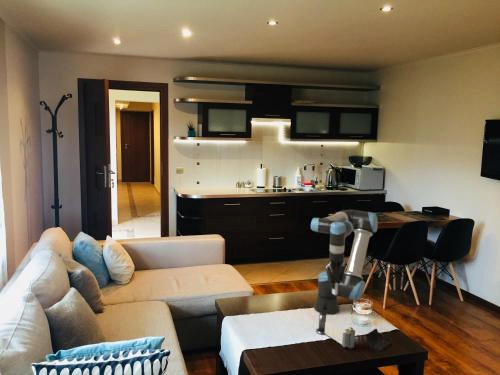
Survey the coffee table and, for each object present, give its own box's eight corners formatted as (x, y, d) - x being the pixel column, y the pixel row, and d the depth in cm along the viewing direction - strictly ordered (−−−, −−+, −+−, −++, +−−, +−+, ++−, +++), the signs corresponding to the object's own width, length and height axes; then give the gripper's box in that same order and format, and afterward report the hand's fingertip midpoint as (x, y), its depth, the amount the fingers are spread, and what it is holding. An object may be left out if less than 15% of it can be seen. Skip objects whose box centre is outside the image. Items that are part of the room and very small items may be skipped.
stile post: (344, 346, 211) (345, 328, 210) (349, 344, 213) (351, 326, 212) (348, 349, 209) (349, 330, 207) (354, 347, 211) (355, 329, 209)
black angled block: (384, 350, 206) (374, 330, 209) (372, 354, 210) (363, 335, 213) (392, 344, 215) (383, 325, 219) (380, 348, 219) (371, 330, 222)
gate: (344, 347, 208) (345, 334, 207) (324, 333, 221) (324, 321, 220) (348, 345, 210) (349, 333, 209) (328, 332, 223) (329, 320, 222)
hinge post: (313, 330, 226) (314, 313, 225) (322, 328, 229) (323, 311, 228) (321, 335, 221) (322, 318, 220) (329, 333, 224) (330, 316, 222)
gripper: (330, 255, 210) (328, 299, 215) (351, 252, 216) (348, 294, 220) (322, 251, 217) (320, 293, 222) (342, 247, 223) (340, 289, 227)
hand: (334, 293), depth 221 cm, fingers closed
